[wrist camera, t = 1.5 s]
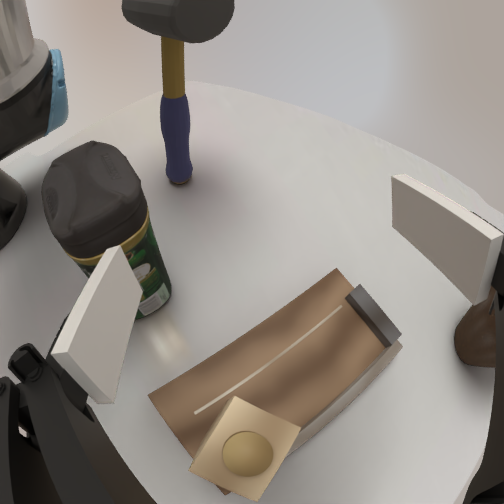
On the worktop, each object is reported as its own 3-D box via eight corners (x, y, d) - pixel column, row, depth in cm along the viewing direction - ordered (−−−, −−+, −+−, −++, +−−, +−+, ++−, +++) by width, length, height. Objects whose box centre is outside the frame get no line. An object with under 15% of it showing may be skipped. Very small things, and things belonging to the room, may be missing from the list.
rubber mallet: (225, 191, 42) (246, -26, 16) (182, 216, 39) (169, -22, 13) (179, 148, 46) (175, -29, 20) (140, 168, 42) (115, -20, 17)
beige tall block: (201, 440, 23) (186, 475, 10) (226, 400, 26) (236, 394, 13) (238, 459, 23) (260, 508, 10) (262, 418, 25) (308, 428, 12)
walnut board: (151, 395, 27) (144, 394, 24) (330, 274, 37) (340, 261, 34) (224, 490, 22) (225, 499, 19) (393, 350, 32) (408, 343, 29)
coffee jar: (94, 269, 33) (28, 162, 17) (145, 239, 36) (110, 120, 20) (125, 333, 30) (45, 248, 14) (182, 298, 33) (156, 186, 17)
